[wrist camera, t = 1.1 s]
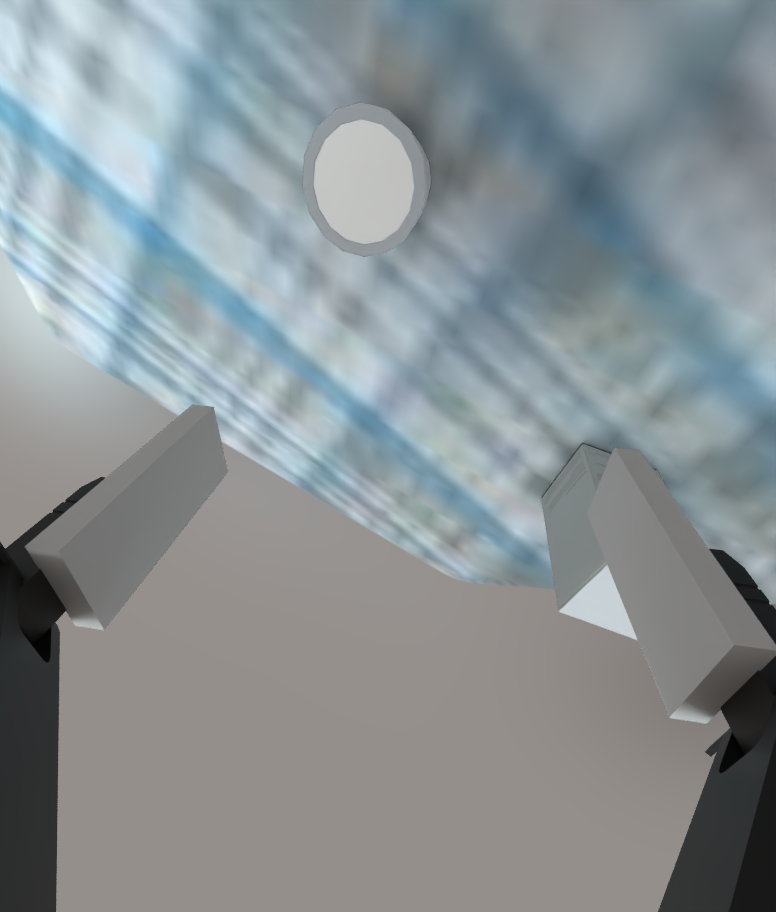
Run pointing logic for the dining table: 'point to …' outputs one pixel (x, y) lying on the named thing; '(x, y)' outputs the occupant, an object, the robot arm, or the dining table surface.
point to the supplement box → (582, 545)
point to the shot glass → (365, 179)
